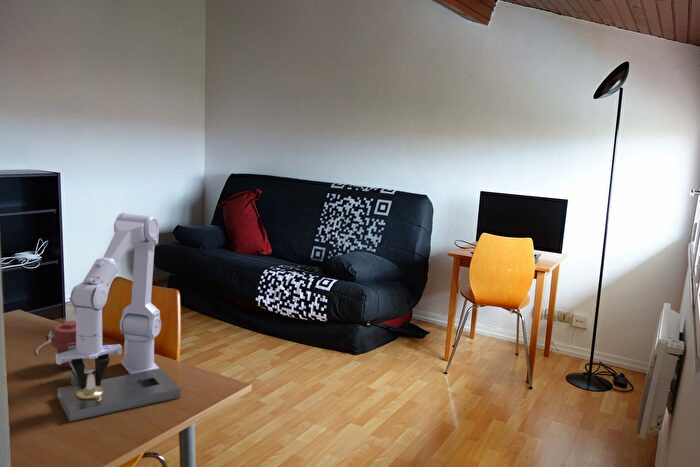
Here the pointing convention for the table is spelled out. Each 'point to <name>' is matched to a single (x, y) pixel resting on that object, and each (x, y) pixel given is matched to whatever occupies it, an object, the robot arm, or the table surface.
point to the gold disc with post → (90, 386)
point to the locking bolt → (70, 362)
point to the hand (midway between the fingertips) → (89, 386)
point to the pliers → (45, 342)
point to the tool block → (119, 394)
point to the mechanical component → (64, 338)
